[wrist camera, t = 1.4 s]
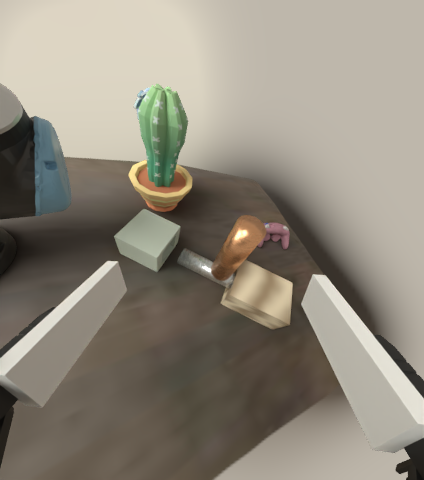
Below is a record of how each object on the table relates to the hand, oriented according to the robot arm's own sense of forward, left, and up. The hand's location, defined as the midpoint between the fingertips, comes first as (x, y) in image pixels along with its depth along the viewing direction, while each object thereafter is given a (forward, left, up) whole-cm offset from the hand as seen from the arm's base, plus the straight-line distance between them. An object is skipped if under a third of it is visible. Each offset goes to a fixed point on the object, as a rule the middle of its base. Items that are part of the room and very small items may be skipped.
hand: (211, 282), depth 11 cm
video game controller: (+4, +34, -24) cm, 42 cm away
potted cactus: (-27, +21, -24) cm, 41 cm away
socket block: (-17, +8, -24) cm, 30 cm away
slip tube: (+1, +13, -22) cm, 26 cm away
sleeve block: (+8, +15, -24) cm, 29 cm away
